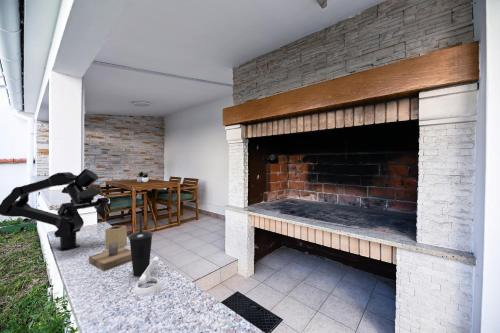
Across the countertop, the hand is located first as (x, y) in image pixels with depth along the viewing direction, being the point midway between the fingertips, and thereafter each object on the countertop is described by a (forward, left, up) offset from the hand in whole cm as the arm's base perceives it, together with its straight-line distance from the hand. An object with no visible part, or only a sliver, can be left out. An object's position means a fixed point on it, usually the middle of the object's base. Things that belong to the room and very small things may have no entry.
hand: (94, 220), depth 94 cm
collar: (+3, +8, -14) cm, 16 cm away
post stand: (+17, 0, -14) cm, 21 cm away
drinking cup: (+36, 0, -14) cm, 38 cm away
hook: (+46, -4, -14) cm, 48 cm away
